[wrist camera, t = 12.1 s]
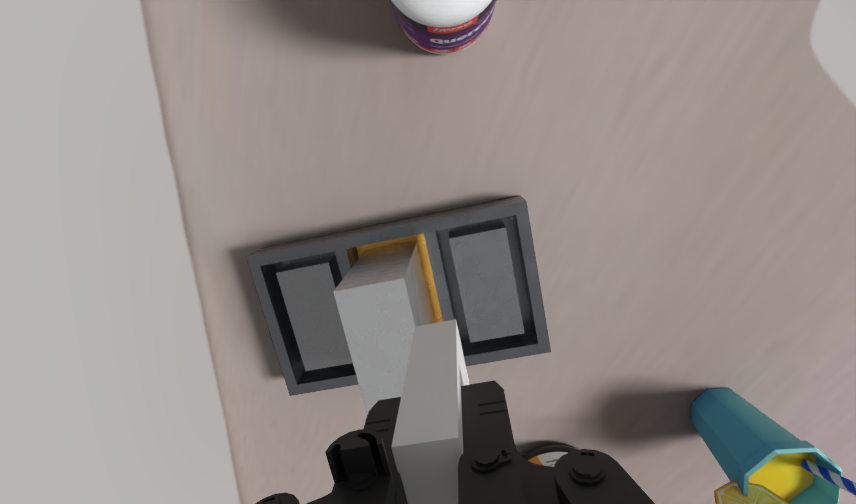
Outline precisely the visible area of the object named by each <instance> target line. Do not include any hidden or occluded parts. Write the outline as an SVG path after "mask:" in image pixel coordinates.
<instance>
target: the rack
mask: <svg viewBox="0 0 856 504" xmlns="http://www.w3.org/2000/svg"><path fill="white" fill-rule="evenodd" d="M413 240H418V244H419V249H420V253H421V258H422V262H423V267H424V271H425V276H426V280H427V284H428V289H429V293H430V298H431V302H432V307H433V311H434V316H435V320H436V323H437V322H443V321H449V320H455V319H456V321H457V326H458V331H459V336H460V341H461V346H462V350H463V355H464V360H465V365H466V366H470V365H476V364H482V363H488V362H494V361H500V360H506V359H512V358H518V357H524V356H530V355H536V354H542V353H548V352H551V349H550V342H549V336H548V330H547V324H546V318H545V312H544V306H543V300H542V294H541V288H540V282H539V276H538V270H537V263H536V257H535V251H534V245H533V239H532V233H531V227H530V221H529V215H528V209H527V203H526V200H525V199H523V198H522V197H521V196H516V197H511V198H506V199H501V200H496V201H491V202H486V203H481V204H476V205H471V206H467V207H462V208H457V209H452V210H447V211H442V212H437V213H432V214H427V215H422V216H417V217H413V218H408V219H403V220H398V221H393V222H388V223H383V224H378V225H373V226H368V227H364V228H359V229H354V230H349V231H344V232H339V233H334V234H329V235H324V236H319V237H314V238H310V239H305V240H300V241H295V242H290V243H285V244H280V245H275V246H270V247H265V248H262V249H260V250H258V251H257V252H255V253H253V254H252V255H250V256H248V257H246V259H247V262H248V265H249V268H250V271H251V274H252V277H253V281H254V284H255V287H256V290H257V293H258V296H259V300H260V303H261V306H262V309H263V312H264V315H265V319H266V322H267V325H268V328H269V331H270V334H271V338H272V341H273V344H274V347H275V350H276V353H277V357H278V360H279V363H280V366H281V369H282V372H283V376H284V379H285V382H286V385H287V388H288V391H289V394H290V396H291V395H297V394H303V393H309V392H315V391H321V390H327V389H333V388H339V387H345V386H351V385H357V384H359V383H358V380H357V376H356V372H355V369H354V365H353V362H352V358H351V354H350V351H349V347H348V343H347V340H346V336H345V332H344V329H343V325H342V322H341V318H340V314H339V311H338V307H337V303H336V300H335V296H334V293H333V291H334V290H335V289H336V287H337V286H338V285H339V284H340V282H341V281H342V280H343V278H344V277H345V276H346V275H347V273H348V272H349V271H350V269H351V268H352V267H353V266H354V264H355V263H356V262H357V260H358V259H359V258H360V256H361V255H362V254H363V253H364V251H365V250H367V249H372V248H378V247H383V246H388V245H393V244H398V243H403V242H408V241H413Z"/></svg>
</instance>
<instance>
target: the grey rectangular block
mask: <svg viewBox="0 0 856 504" xmlns="http://www.w3.org/2000/svg"><path fill="white" fill-rule="evenodd" d="M333 293H334V296H335V300H336V303H337V307H338V311H339V314H340V318H341V322H342V325H343V329H344V332H345V336H346V340H347V343H348V347H349V351H350V354H351V358H352V362H353V365H354V369H355V372H356V376H357V380H358V383H359V387H360V391H361V394H362V398H363V401H364V405H365V409H366V412H367V415H368V412H369V411H370V409H371V408H372V407H373V406H374V405H375V404H376V403H377V401H378V400H384V399H390V398H396V397H401V395H402V390H403V385H404V380H405V375H406V370H407V365H408V360H409V355H410V349H411V344H412V339H413V334H414V329H415V326H420V325H426V324H432V323H436V320H435V316H434V311H433V307H432V302H431V298H430V293H429V289H428V284H427V280H426V276H425V271H424V267H423V262H422V258H421V253H420V249H419V244H418V240H413V241H408V242H403V243H398V244H393V245H388V246H383V247H378V248H372V249H367V250H365V251H364V253H363V254H362V255H361V256H360V258H359V259H358V260H357V262H356V263H355V264H354V266H353V267H352V268H351V269H350V271H349V272H348V273H347V275H346V276H345V277H344V278H343V280H342V281H341V282H340V284H339V285H338V286H337V287H336V289H335V290H334V291H333Z"/></svg>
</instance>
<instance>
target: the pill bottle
mask: <svg viewBox="0 0 856 504" xmlns="http://www.w3.org/2000/svg"><path fill="white" fill-rule="evenodd" d="M496 1H497V0H390V2H391V5H392V7H393V10H394V12H395V14H396V16H397V18H398V21H399V23H400V25H401V27H402V29H403V31H404V32H405V34H406V35H407V37H408V38H409V39H410V40H411V41H412V42H413V43H415V44H416V45H417V46H418V47H420V48H421V49H423V50H425V51H428V52H431V53H435V54H453V53H457V52H459V51H462V50H464V49H466V48H468V47H469V46H471V45H472V44H473V43H475V42H476V41H477V40H478V39H479V38H480V36H481V35H482V34H483V33H484V31H485V29H486V28H487V26H488V24H489V22H490V19H491V17H492V14H493V10H494V7H495V4H496Z"/></svg>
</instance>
